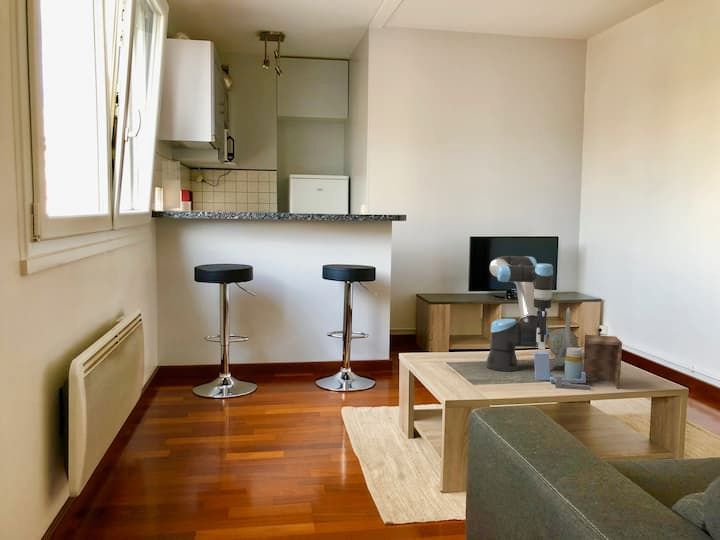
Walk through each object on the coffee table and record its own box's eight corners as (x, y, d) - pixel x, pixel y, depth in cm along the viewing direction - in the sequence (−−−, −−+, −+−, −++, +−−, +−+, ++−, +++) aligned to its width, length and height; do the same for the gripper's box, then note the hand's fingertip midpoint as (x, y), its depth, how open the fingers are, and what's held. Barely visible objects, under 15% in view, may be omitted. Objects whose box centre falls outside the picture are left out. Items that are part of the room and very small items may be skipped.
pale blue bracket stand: (536, 382, 259) (535, 355, 258) (534, 376, 269) (533, 350, 268) (585, 382, 254) (585, 355, 253) (582, 376, 264) (581, 350, 263)
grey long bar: (555, 387, 251) (556, 376, 251) (555, 386, 254) (555, 375, 253) (590, 390, 248) (591, 379, 248) (589, 389, 251) (590, 377, 250)
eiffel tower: (546, 369, 283) (549, 307, 280) (558, 364, 293) (561, 304, 290) (573, 374, 274) (576, 310, 271) (584, 369, 284) (588, 307, 281)
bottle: (578, 379, 264) (579, 347, 263) (582, 384, 257) (584, 350, 256) (562, 379, 265) (563, 346, 263) (566, 383, 258) (568, 350, 256)
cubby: (587, 386, 254) (589, 340, 252) (582, 378, 266) (585, 334, 265) (619, 389, 251) (622, 342, 249) (613, 380, 264) (615, 336, 262)
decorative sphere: (549, 359, 302) (550, 330, 301) (544, 352, 317) (546, 325, 315) (579, 360, 300) (581, 331, 298) (573, 354, 314) (575, 326, 313)
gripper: (554, 303, 248) (551, 352, 250) (548, 295, 272) (546, 339, 275) (535, 302, 250) (533, 351, 252) (532, 294, 274) (530, 338, 276)
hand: (540, 345), depth 263 cm, fingers open, 13 cm apart
